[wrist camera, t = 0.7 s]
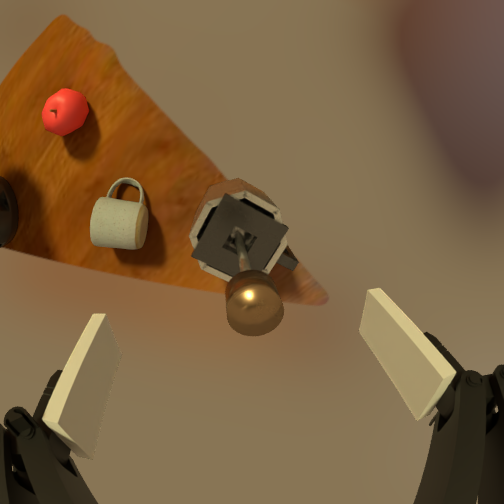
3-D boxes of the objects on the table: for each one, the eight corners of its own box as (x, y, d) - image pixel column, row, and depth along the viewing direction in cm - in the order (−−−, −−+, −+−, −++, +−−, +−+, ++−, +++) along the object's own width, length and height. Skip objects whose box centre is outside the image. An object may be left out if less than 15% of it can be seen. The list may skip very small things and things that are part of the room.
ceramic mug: (149, 241, 44) (137, 259, 37) (105, 236, 43) (88, 252, 36) (154, 179, 41) (141, 185, 33) (108, 175, 39) (88, 181, 32)
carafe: (187, 227, 44) (176, 260, 32) (220, 167, 41) (220, 177, 29) (261, 263, 48) (276, 305, 36) (295, 209, 45) (323, 236, 33)
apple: (59, 94, 32) (34, 89, 24) (97, 88, 33) (75, 80, 26) (55, 138, 35) (29, 140, 27) (92, 134, 36) (69, 134, 28)
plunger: (197, 245, 35) (183, 332, 19) (225, 193, 33) (233, 244, 17) (248, 270, 37) (271, 363, 21) (278, 222, 35) (328, 291, 19)
